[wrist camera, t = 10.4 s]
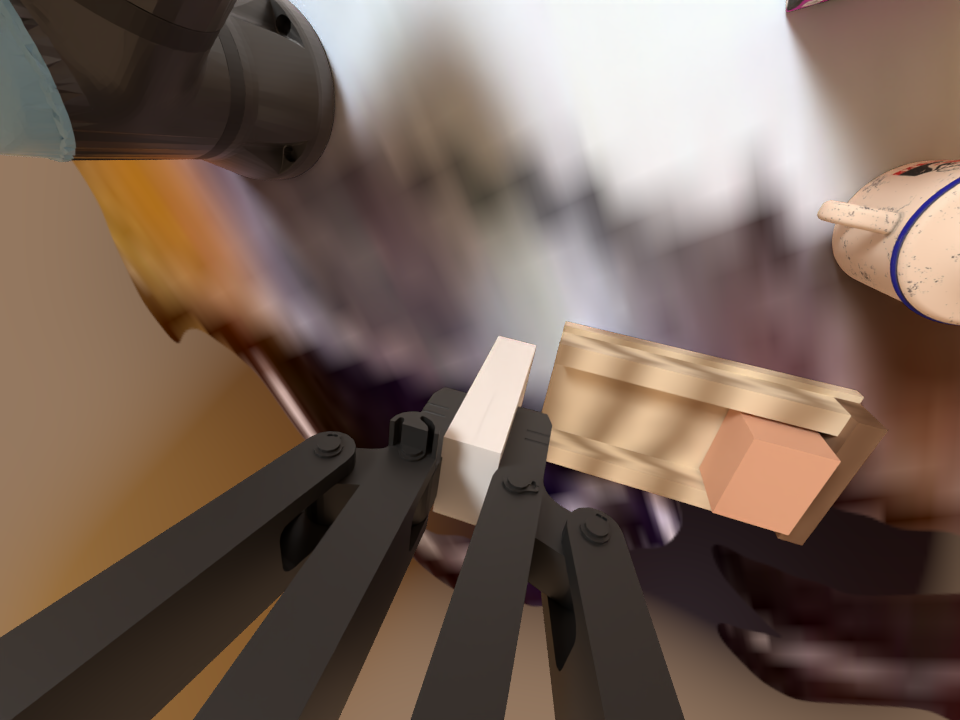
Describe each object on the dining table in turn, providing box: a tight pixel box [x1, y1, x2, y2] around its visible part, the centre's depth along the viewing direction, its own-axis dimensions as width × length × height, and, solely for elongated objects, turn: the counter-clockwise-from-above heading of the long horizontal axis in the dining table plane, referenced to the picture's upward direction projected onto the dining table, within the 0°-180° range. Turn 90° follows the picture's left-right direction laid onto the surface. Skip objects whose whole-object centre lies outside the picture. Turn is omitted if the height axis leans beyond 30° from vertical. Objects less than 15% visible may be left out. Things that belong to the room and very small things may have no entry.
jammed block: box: [699, 409, 841, 535], centre depth 36 cm, size 6×8×6 cm
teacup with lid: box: [817, 160, 960, 325], centre depth 25 cm, size 12×9×12 cm
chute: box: [542, 321, 888, 545], centre depth 39 cm, size 25×14×5 cm, turn 81°
